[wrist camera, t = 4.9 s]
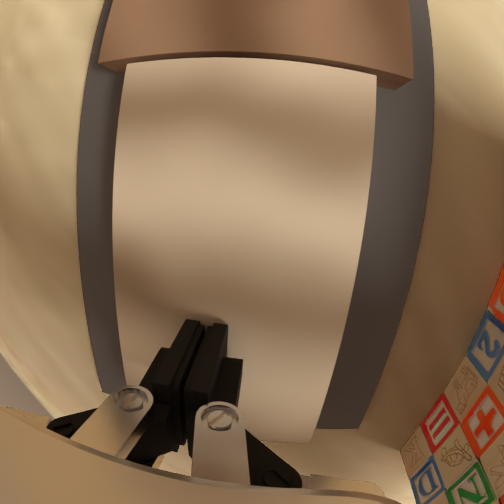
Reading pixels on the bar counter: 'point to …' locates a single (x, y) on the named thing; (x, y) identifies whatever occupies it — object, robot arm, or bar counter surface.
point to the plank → (243, 220)
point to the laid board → (265, 33)
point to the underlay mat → (373, 242)
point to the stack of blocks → (465, 425)
